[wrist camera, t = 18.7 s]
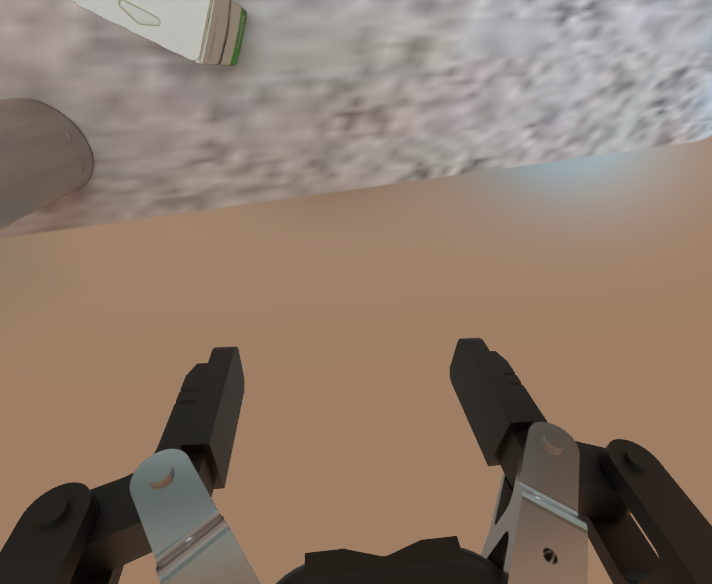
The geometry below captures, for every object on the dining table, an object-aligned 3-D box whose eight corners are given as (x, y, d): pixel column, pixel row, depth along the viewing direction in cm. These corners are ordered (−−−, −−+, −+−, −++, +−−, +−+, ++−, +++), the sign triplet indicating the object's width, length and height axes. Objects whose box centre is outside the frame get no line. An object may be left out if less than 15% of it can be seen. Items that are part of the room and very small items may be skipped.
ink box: (249, 10, 31) (220, -14, 22) (236, 68, 34) (204, 69, 24) (147, -47, 29) (61, -104, 19) (140, 20, 31) (60, 0, 21)
